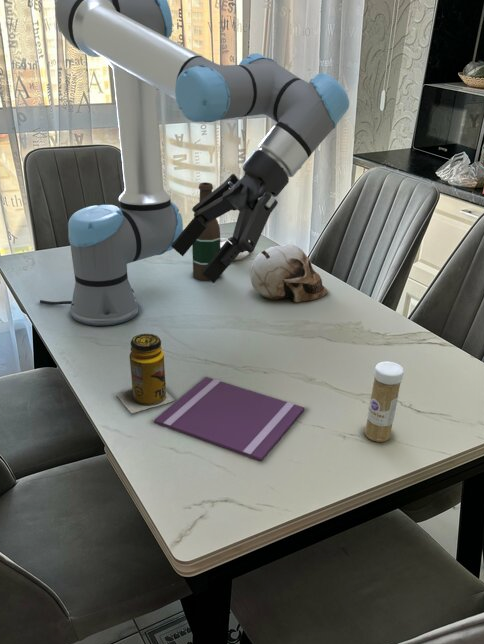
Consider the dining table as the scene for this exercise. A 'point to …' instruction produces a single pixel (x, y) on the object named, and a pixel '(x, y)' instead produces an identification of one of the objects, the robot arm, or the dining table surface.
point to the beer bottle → (205, 240)
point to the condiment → (146, 375)
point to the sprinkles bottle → (383, 400)
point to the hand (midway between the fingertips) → (191, 264)
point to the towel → (231, 417)
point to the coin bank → (286, 275)
